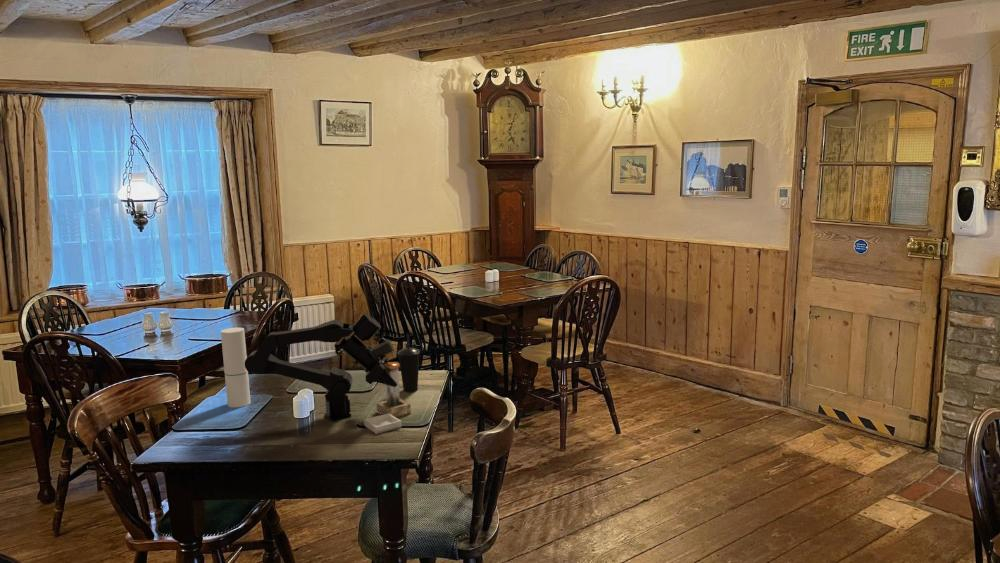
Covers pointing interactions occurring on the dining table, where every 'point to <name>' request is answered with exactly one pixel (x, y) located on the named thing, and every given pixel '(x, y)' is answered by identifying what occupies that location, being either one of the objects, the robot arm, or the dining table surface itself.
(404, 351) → the drinking cup
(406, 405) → the socket block
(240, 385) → the cylindrical container
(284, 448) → the dining table surface
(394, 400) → the copper-capped peg
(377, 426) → the tray
